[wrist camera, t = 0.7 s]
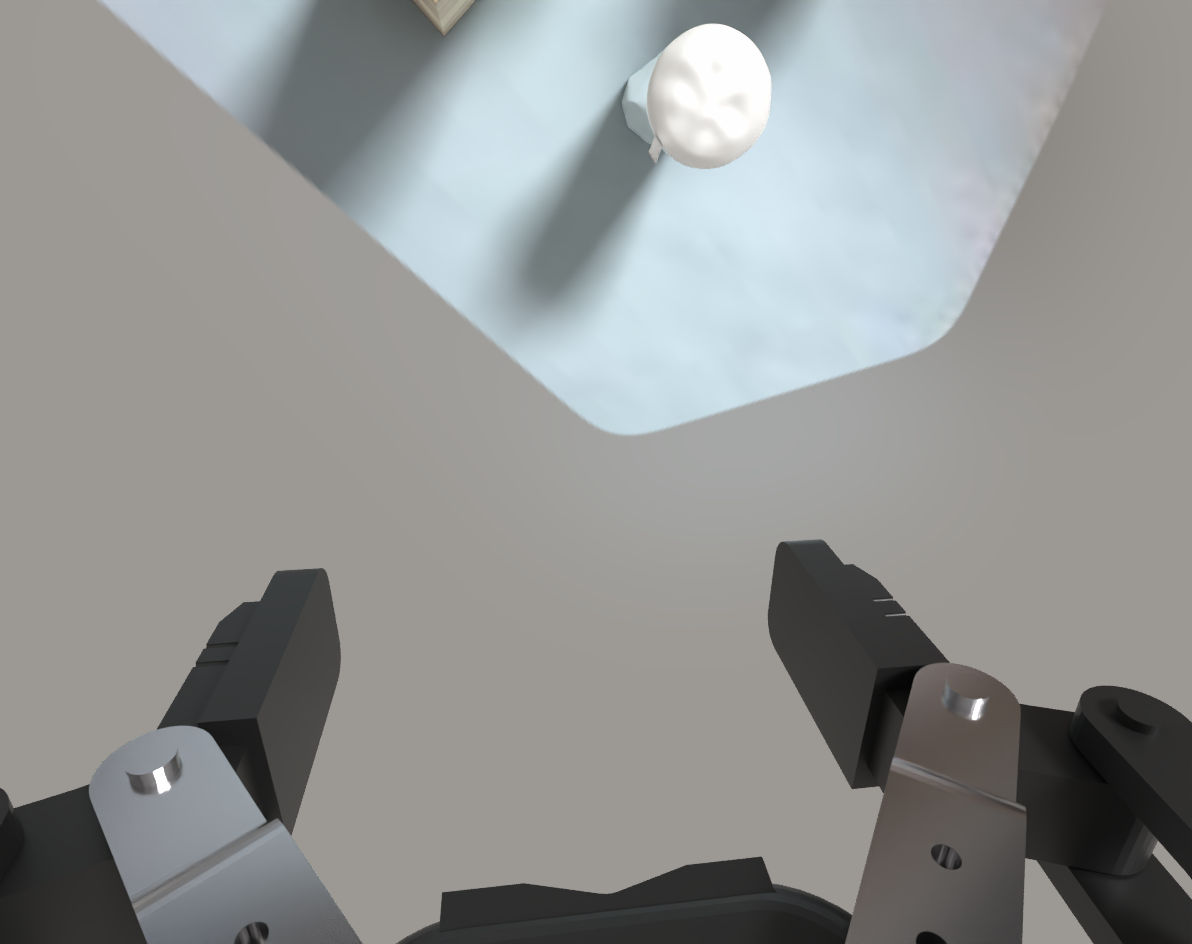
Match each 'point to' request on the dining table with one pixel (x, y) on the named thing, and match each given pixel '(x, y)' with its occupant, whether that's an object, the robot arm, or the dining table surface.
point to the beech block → (444, 12)
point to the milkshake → (701, 97)
